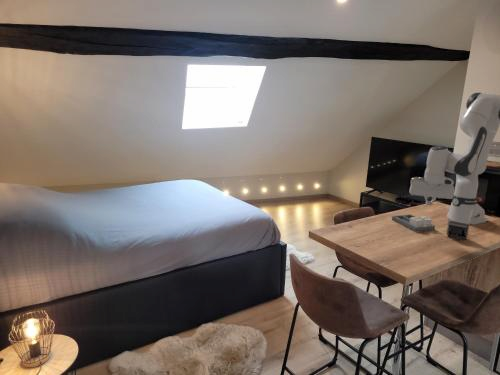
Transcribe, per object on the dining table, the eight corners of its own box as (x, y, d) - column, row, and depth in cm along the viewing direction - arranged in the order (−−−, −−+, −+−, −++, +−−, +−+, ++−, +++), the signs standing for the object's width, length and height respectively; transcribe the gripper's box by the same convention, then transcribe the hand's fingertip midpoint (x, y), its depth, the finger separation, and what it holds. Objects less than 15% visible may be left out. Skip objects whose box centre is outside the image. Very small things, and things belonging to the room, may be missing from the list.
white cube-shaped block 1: (423, 224, 199) (425, 215, 198) (430, 227, 194) (432, 218, 193) (418, 224, 198) (419, 215, 197) (424, 227, 193) (426, 218, 192)
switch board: (410, 218, 211) (410, 214, 211) (434, 230, 194) (435, 225, 193) (391, 219, 208) (392, 215, 207) (414, 231, 190) (415, 227, 190)
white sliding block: (414, 224, 197) (416, 216, 196) (421, 228, 193) (422, 219, 192) (408, 225, 196) (410, 216, 195) (415, 228, 192) (416, 219, 190)
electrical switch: (467, 238, 183) (470, 221, 180) (466, 242, 179) (469, 225, 176) (446, 234, 188) (449, 218, 185) (445, 238, 184) (447, 221, 181)
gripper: (412, 177, 180) (407, 204, 184) (457, 182, 175) (452, 209, 179) (410, 175, 186) (406, 200, 190) (454, 179, 181) (448, 205, 185)
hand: (428, 204), depth 184 cm, fingers closed
